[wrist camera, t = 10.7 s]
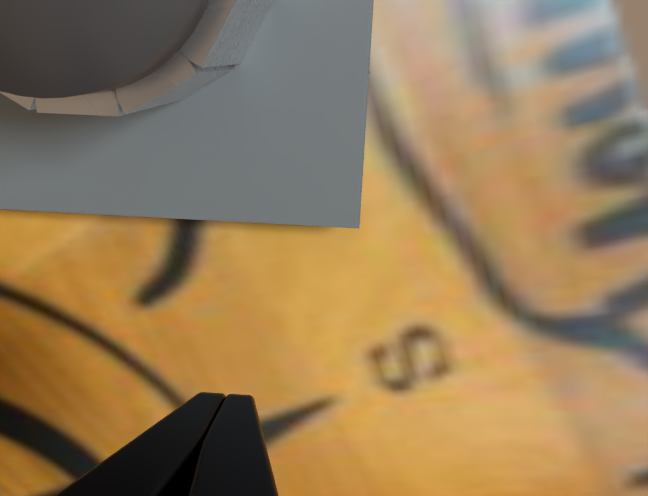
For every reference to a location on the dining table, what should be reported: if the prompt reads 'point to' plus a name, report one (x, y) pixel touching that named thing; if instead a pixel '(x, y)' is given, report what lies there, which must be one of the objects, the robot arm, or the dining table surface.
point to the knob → (89, 43)
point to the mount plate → (217, 136)
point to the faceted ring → (174, 65)
